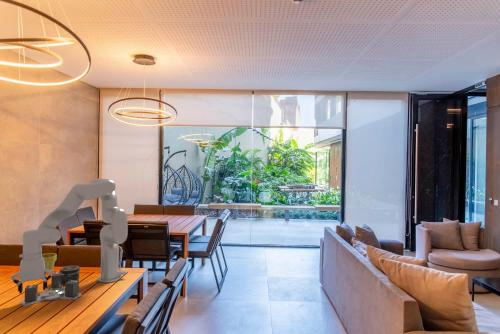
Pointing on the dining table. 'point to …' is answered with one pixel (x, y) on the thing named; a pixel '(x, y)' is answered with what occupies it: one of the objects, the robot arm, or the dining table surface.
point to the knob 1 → (31, 293)
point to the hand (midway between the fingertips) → (32, 290)
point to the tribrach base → (51, 296)
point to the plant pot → (49, 260)
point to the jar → (70, 273)
